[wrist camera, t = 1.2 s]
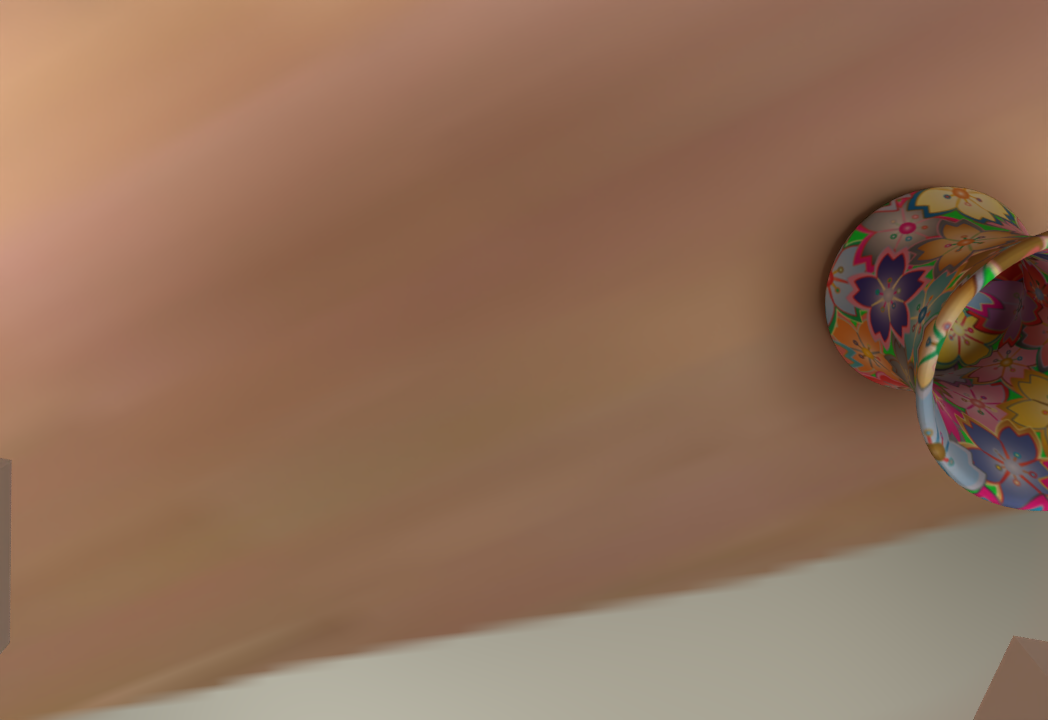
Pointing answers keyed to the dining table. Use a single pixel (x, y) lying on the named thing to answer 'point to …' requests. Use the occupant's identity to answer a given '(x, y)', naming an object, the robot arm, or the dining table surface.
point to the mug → (954, 332)
